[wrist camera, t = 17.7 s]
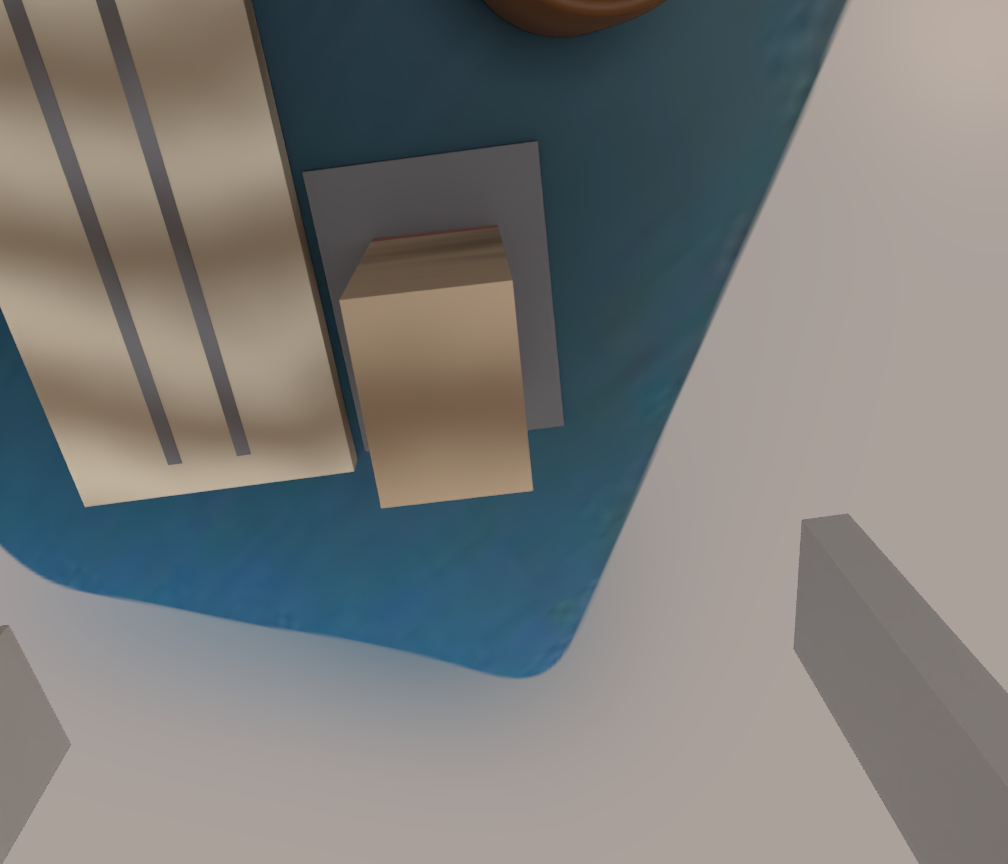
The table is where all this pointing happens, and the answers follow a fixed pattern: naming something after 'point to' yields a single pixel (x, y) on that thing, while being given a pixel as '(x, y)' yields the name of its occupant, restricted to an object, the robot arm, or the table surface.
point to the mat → (440, 207)
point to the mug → (569, 14)
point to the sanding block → (438, 366)
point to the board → (160, 251)
